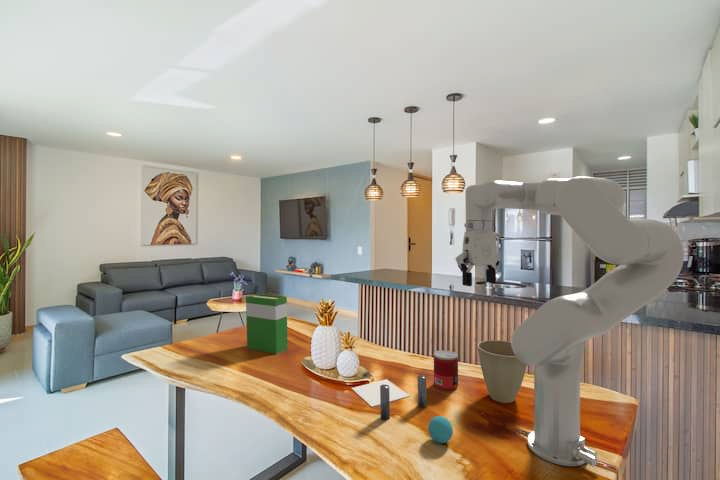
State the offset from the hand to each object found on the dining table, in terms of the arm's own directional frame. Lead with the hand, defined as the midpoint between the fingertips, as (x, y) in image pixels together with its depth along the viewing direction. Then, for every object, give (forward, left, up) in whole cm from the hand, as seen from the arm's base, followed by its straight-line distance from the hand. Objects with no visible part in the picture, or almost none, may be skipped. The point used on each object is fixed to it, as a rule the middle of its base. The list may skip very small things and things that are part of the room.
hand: (479, 284), depth 103 cm
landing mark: (+22, +22, -37) cm, 48 cm away
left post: (+8, +29, -37) cm, 47 cm away
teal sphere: (-8, +22, -34) cm, 41 cm away
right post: (+8, +15, -37) cm, 41 cm away
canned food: (+15, 0, -37) cm, 40 cm away
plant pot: (0, -10, -37) cm, 38 cm away
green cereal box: (+84, +45, -37) cm, 102 cm away
